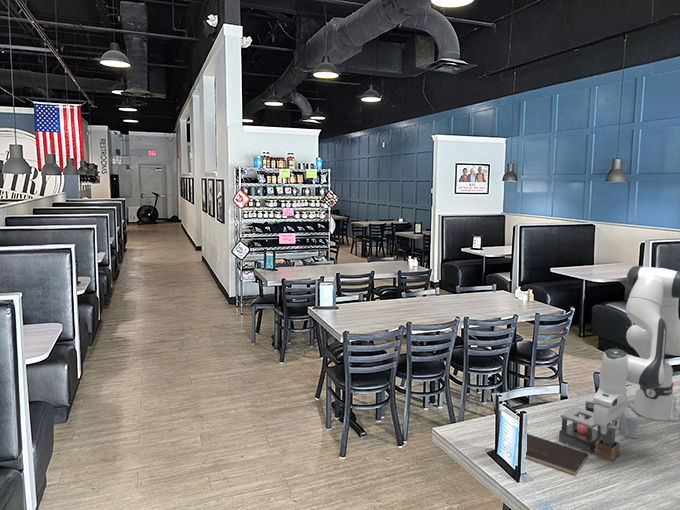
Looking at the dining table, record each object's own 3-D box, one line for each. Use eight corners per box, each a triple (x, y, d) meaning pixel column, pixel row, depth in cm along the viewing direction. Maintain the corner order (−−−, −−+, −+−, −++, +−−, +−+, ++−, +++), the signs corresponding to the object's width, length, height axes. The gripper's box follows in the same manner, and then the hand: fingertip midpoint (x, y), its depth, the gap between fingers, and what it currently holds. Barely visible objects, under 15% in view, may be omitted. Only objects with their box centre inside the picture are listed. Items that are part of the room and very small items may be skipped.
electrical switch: (608, 422, 214) (610, 402, 212) (609, 428, 210) (610, 408, 208) (584, 417, 218) (585, 398, 216) (584, 423, 214) (585, 404, 212)
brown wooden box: (602, 449, 192) (603, 437, 192) (619, 456, 188) (620, 443, 187) (594, 454, 188) (595, 442, 188) (612, 461, 184) (613, 449, 183)
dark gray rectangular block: (605, 451, 190) (607, 425, 189) (613, 454, 188) (615, 428, 186) (601, 453, 188) (603, 428, 187) (610, 457, 186) (612, 431, 184)
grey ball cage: (573, 430, 207) (575, 406, 205) (603, 442, 197) (605, 416, 196) (558, 440, 199) (560, 414, 197) (589, 452, 190) (592, 426, 188)
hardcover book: (575, 477, 175) (575, 471, 175) (510, 454, 190) (510, 448, 189) (588, 458, 187) (588, 452, 187) (526, 438, 202) (526, 432, 201)
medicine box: (637, 438, 200) (639, 418, 199) (624, 437, 201) (626, 417, 200) (630, 429, 208) (631, 409, 207) (618, 428, 209) (620, 408, 208)
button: (579, 434, 200) (580, 421, 200) (588, 437, 198) (589, 425, 197) (574, 437, 198) (575, 424, 197) (584, 440, 195) (585, 428, 195)
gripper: (615, 383, 194) (612, 417, 196) (591, 398, 181) (588, 434, 183) (633, 388, 189) (630, 423, 191) (609, 404, 176) (606, 441, 178)
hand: (609, 429), depth 187 cm, fingers open, 8 cm apart
